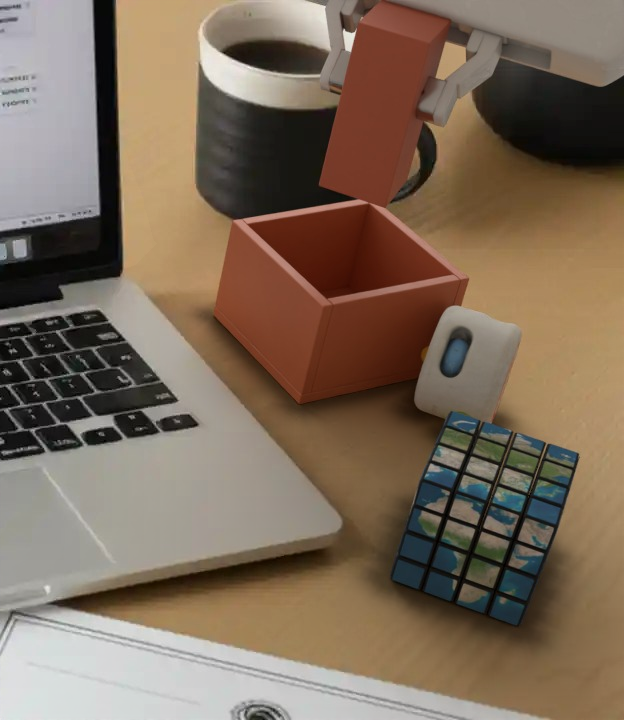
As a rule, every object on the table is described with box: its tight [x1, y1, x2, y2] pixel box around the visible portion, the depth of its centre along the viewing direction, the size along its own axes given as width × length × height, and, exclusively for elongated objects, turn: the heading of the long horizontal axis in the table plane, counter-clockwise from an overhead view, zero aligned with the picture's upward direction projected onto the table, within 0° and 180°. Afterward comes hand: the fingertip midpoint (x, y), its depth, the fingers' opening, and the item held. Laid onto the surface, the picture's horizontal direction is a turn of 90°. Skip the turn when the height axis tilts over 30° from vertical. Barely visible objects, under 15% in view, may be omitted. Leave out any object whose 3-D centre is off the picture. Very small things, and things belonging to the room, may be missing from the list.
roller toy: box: [413, 305, 523, 431], centre depth 85 cm, size 4×6×6 cm
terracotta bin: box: [212, 199, 470, 405], centre depth 89 cm, size 9×9×6 cm
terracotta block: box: [318, 0, 451, 209], centre depth 83 cm, size 4×4×9 cm
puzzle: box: [389, 411, 581, 627], centre depth 75 cm, size 6×6×6 cm
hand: (381, 104), depth 82 cm, fingers closed on terracotta block, 3 cm apart
